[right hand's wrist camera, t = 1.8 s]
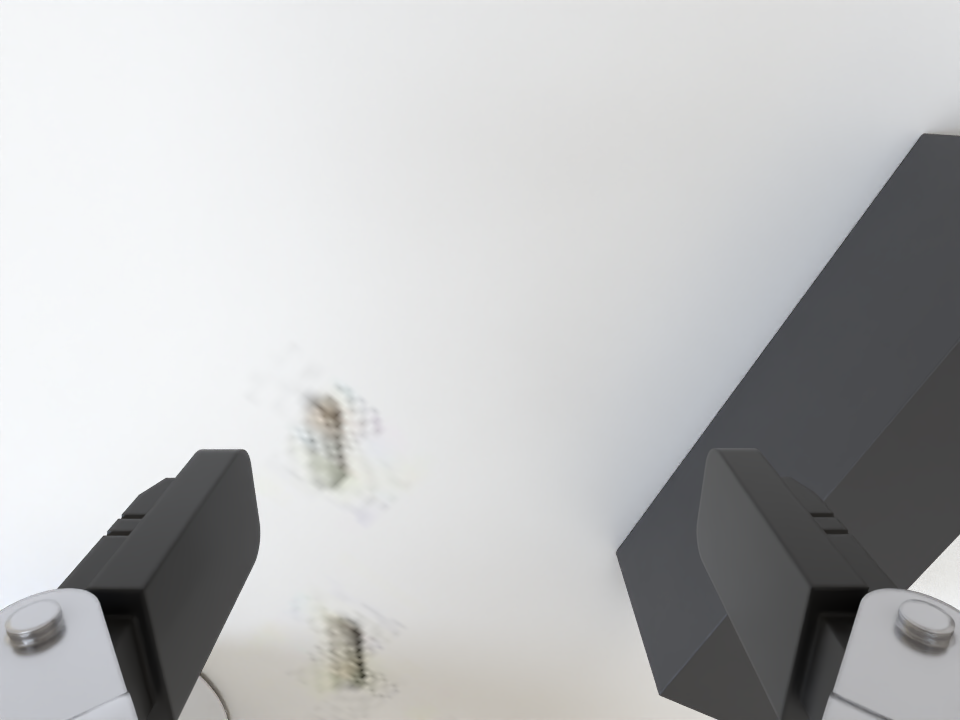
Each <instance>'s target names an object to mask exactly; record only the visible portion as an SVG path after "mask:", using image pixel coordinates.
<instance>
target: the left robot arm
mask: <svg viewBox="0 0 960 720" xmlns="http://www.w3.org/2000/svg"><path fill="white" fill-rule="evenodd" d="M178 720H228V718H227V715H226V712H225V709H224V707H223V705H222V703H221V701H220V699H219V698H218V696H217V695H216V693H215V692H214V690H213V689H212V688H211V687H210V685H209V684H208V683H207V682H206V681H205V680H204V679H203V678H202V677H201V676H200V675H199V677H198V680H197V682H196V684H195V686H194V688H193V690H192V692H191V694H190V696H189V698H188V700H187V702H186V704H185V706H184V708H183V710H182V712H181V714H180V716H179V718H178Z"/></svg>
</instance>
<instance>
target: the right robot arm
mask: <svg viewBox="0 0 960 720" xmlns="http://www.w3.org/2000/svg"><path fill="white" fill-rule="evenodd" d="M259 544H260V522H259V516H258V509H257V502H256V495H255V488H254V481H253V474H252V468H251V462H250V458H249V455H248V453H247V452H246V451H245V450H243V449H202V450H199V451H197V452H196V453H195V454H194V456H193V457H192V458H191V459H190V460H189V462H188V463H187V464H186V465H185V467H184V468H183V469H182V470H181V472H180V473H179V474H178V475H177V476H176V478H165V479H164V480H162V481H160V482H159V483H157V484H156V485H154V486H152V487H151V488H149V489H148V490H146V491H145V492H143V493H141V494H140V495H139V496H138V497H137V498H136V499H135V500H134V501H133V502H132V504H131V505H130V506H129V507H128V508H127V509H126V510H125V512H124V513H123V514H122V518H121V519H118V520H117V521H116V522H115V523H114V524H113V525H112V527H111V528H110V529H109V530H108V531H107V536H103V537H102V538H101V539H100V540H99V542H98V543H97V544H96V545H95V546H94V547H93V548H92V550H91V551H90V552H89V553H88V554H87V555H86V556H85V558H84V559H83V560H82V561H81V562H80V563H79V564H78V566H77V567H76V568H75V569H74V570H73V571H72V573H71V574H70V575H69V576H68V577H67V578H66V579H65V581H64V582H63V583H62V584H61V585H60V586H59V587H58V589H55V590H50V591H45V592H41V593H38V594H35V595H32V596H29V597H26V598H24V599H21V600H19V601H17V602H15V603H13V604H11V605H9V606H8V607H6V608H4V609H2V610H1V611H0V720H178V718H179V716H180V714H181V712H182V710H183V708H184V706H185V704H186V702H187V700H188V698H189V696H190V694H191V692H192V690H193V688H194V686H195V684H196V682H197V680H198V677H199V675H200V673H201V671H202V669H203V667H204V665H205V663H206V661H207V659H208V657H209V655H210V653H211V651H212V649H213V647H214V645H215V643H216V641H217V639H218V637H219V635H220V633H221V631H222V629H223V626H224V624H225V622H226V620H227V618H228V616H229V614H230V612H231V610H232V608H233V606H234V604H235V602H236V600H237V598H238V596H239V594H240V592H241V590H242V588H243V586H244V584H245V582H246V580H247V578H248V575H249V573H250V571H251V569H252V567H253V565H254V563H255V561H256V558H257V554H258V550H259ZM697 545H698V550H699V554H700V558H701V560H702V563H703V565H704V567H705V569H706V571H707V573H708V575H709V577H710V579H711V581H712V583H713V585H714V587H715V590H716V592H717V594H718V596H719V598H720V600H721V602H722V604H723V606H724V608H725V610H726V612H727V614H728V616H729V618H730V621H731V623H732V625H733V627H734V629H735V631H736V633H737V635H738V637H739V639H740V641H741V643H742V645H743V647H744V649H745V651H746V654H747V656H748V658H749V660H750V662H751V664H752V666H753V668H754V670H755V672H756V674H757V676H758V678H759V680H760V682H761V685H762V687H763V689H764V691H765V693H766V695H767V697H768V699H769V701H770V703H771V705H772V707H773V709H774V711H775V713H776V715H777V718H778V720H960V611H959V610H958V609H956V608H954V607H952V606H951V605H949V604H947V603H945V602H943V601H941V600H939V599H936V598H934V597H931V596H928V595H925V594H922V593H919V592H915V591H910V590H905V589H899V588H898V587H897V586H896V585H895V584H894V583H893V581H892V580H891V579H890V578H889V577H888V576H887V574H886V573H885V572H884V571H883V570H882V569H881V568H880V566H879V565H878V564H877V563H876V562H875V561H874V559H873V558H872V557H871V556H870V555H869V554H868V552H867V551H866V550H865V549H864V548H863V547H862V545H861V544H860V543H859V542H858V541H857V540H856V539H855V537H854V536H853V535H852V534H848V529H847V528H846V527H845V526H844V525H843V523H842V522H841V521H840V520H839V519H838V518H837V517H834V513H833V512H832V511H831V510H830V508H829V507H828V506H827V505H826V504H825V503H824V501H823V500H822V499H821V498H820V497H819V496H818V494H817V493H815V492H813V491H812V490H810V489H809V488H807V487H805V486H804V485H802V484H801V483H799V482H798V481H796V480H794V479H793V478H791V477H780V475H779V474H778V473H777V472H776V470H775V469H774V468H773V467H772V465H771V464H770V463H769V462H768V460H767V459H766V458H765V457H764V456H763V454H762V453H761V452H760V451H759V450H758V449H755V448H713V449H711V450H710V451H709V453H708V455H707V458H706V463H705V470H704V477H703V484H702V491H701V498H700V505H699V512H698V519H697Z"/></svg>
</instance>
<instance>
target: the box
mask: <svg viewBox="0 0 960 720" xmlns="http://www.w3.org/2000/svg"><path fill="white" fill-rule="evenodd" d="M713 448H755V449H758V450H759V451H760V452H761V453H762V454H763V456H764V457H765V458H766V459H767V460H768V462H769V463H770V464H771V465H772V467H773V468H774V469H775V470H776V472H777V473H778V474H779V475H780V477H791V478H793V479H794V480H796V481H798V482H799V483H801V484H802V485H804V486H805V487H807V488H809V489H810V490H812V491H813V492H815V493H817V494H818V496H819V497H820V498H821V499H822V500H823V501H824V503H825V504H826V505H827V506H828V507H829V508H830V510H831V511H832V512H833V513H834V517H837V518H838V519H839V520H840V521H841V522H842V523H843V525H844V526H845V527H846V528H847V529H848V534H852V535H853V536H854V537H855V539H856V540H857V541H858V542H859V543H860V544H861V545H862V547H863V548H864V549H865V550H866V551H867V552H868V554H869V555H870V556H871V557H872V558H873V559H874V561H875V562H876V563H877V564H878V565H879V566H880V568H881V569H882V570H883V571H884V572H885V573H886V574H887V576H888V577H889V578H890V579H891V580H892V581H893V583H894V584H895V585H896V586H897V587H898V588H899V589H905V590H907V589H908V588H909V587H910V586H911V585H912V584H913V583H914V582H915V581H916V580H917V579H918V578H919V577H920V576H921V574H922V573H923V572H924V571H925V570H926V569H927V568H928V567H929V566H930V565H931V564H932V563H933V562H934V561H935V560H936V559H937V558H938V557H939V556H940V555H941V553H942V552H943V551H944V550H945V549H946V548H947V547H948V546H949V545H950V544H951V543H952V542H953V541H954V540H955V539H956V538H957V537H958V536H959V535H960V136H953V135H938V134H923V135H922V136H921V137H920V139H919V140H918V141H917V143H916V144H915V145H914V147H913V148H912V149H911V151H910V152H909V154H908V155H907V156H906V158H905V159H904V160H903V162H902V163H901V164H900V166H899V167H898V169H897V170H896V171H895V173H894V174H893V175H892V177H891V178H890V179H889V181H888V182H887V184H886V185H885V186H884V188H883V189H882V190H881V192H880V193H879V194H878V196H877V197H876V199H875V200H874V201H873V203H872V204H871V205H870V207H869V208H868V209H867V211H866V212H865V214H864V215H863V216H862V218H861V219H860V220H859V222H858V223H857V224H856V226H855V227H854V229H853V230H852V231H851V233H850V234H849V235H848V237H847V238H846V239H845V241H844V242H843V244H842V245H841V246H840V248H839V249H838V250H837V252H836V253H835V254H834V256H833V257H832V259H831V260H830V261H829V263H828V264H827V265H826V267H825V268H824V269H823V271H822V272H821V274H820V275H819V276H818V278H817V279H816V280H815V282H814V283H813V284H812V286H811V287H810V289H809V290H808V291H807V293H806V294H805V295H804V297H803V298H802V300H801V301H800V302H799V304H798V305H797V306H796V308H795V309H794V310H793V312H792V313H791V315H790V316H789V317H788V319H787V320H786V321H785V323H784V324H783V325H782V327H781V328H780V330H779V331H778V332H777V334H776V335H775V336H774V338H773V339H772V340H771V342H770V343H769V345H768V346H767V347H766V349H765V350H764V351H763V353H762V354H761V355H760V357H759V358H758V360H757V361H756V362H755V364H754V365H753V366H752V368H751V369H750V370H749V372H748V373H747V375H746V376H745V377H744V379H743V380H742V381H741V383H740V384H739V385H738V387H737V388H736V390H735V391H734V392H733V394H732V395H731V396H730V398H729V399H728V400H727V402H726V403H725V405H724V406H723V407H722V409H721V410H720V411H719V413H718V414H717V415H716V417H715V418H714V420H713V421H712V422H711V424H710V425H709V426H708V428H707V429H706V430H705V432H704V433H703V435H702V436H701V437H700V439H699V440H698V441H697V443H696V444H695V445H694V447H693V448H692V450H691V451H690V452H689V454H688V455H687V456H686V458H685V459H684V460H683V462H682V463H681V465H680V466H679V467H678V469H677V470H676V471H675V473H674V474H673V475H672V477H671V478H670V480H669V481H668V482H667V484H666V485H665V486H664V488H663V489H662V490H661V492H660V493H659V495H658V496H657V497H656V499H655V500H654V501H653V503H652V504H651V505H650V507H649V508H648V510H647V511H646V512H645V514H644V515H643V516H642V518H641V519H640V520H639V522H638V523H637V525H636V526H635V527H634V529H633V530H632V531H631V533H630V534H629V535H628V537H627V538H626V540H625V541H624V542H623V544H622V545H621V546H620V548H619V549H618V550H617V552H616V555H617V558H618V561H619V565H620V568H621V571H622V574H623V578H624V581H625V584H626V588H627V591H628V594H629V597H630V601H631V604H632V607H633V611H634V614H635V617H636V620H637V624H638V627H639V630H640V634H641V637H642V640H643V644H644V647H645V650H646V653H647V657H648V660H649V663H650V667H651V670H652V673H653V676H654V680H655V683H656V686H657V690H658V693H659V695H660V696H662V697H665V698H667V699H670V700H672V701H674V702H677V703H679V704H682V705H684V706H686V707H689V708H691V709H693V710H696V711H698V712H701V713H703V714H705V715H708V716H710V717H713V718H715V719H717V720H778V718H777V715H776V713H775V711H774V709H773V707H772V705H771V703H770V701H769V699H768V697H767V695H766V693H765V691H764V689H763V687H762V685H761V682H760V680H759V678H758V676H757V674H756V672H755V670H754V668H753V666H752V664H751V662H750V660H749V658H748V656H747V654H746V651H745V649H744V647H743V645H742V643H741V641H740V639H739V637H738V635H737V633H736V631H735V629H734V627H733V625H732V623H731V621H730V618H729V616H728V614H727V612H726V610H725V608H724V606H723V604H722V602H721V600H720V598H719V596H718V594H717V592H716V590H715V587H714V585H713V583H712V581H711V579H710V577H709V575H708V573H707V571H706V569H705V567H704V565H703V563H702V560H701V558H700V554H699V550H698V545H697V519H698V512H699V505H700V498H701V491H702V484H703V477H704V470H705V463H706V458H707V455H708V453H709V451H710V450H711V449H713Z"/></svg>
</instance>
